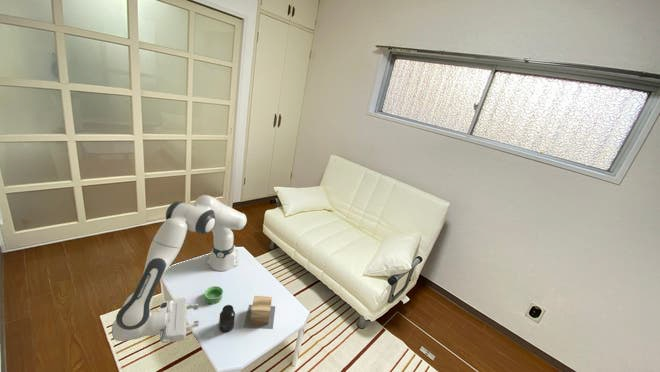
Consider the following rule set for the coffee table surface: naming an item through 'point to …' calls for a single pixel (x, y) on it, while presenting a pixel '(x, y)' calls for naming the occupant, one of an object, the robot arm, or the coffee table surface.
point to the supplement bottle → (226, 319)
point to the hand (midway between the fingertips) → (198, 314)
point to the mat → (264, 326)
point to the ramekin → (213, 294)
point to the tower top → (261, 306)
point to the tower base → (259, 320)
